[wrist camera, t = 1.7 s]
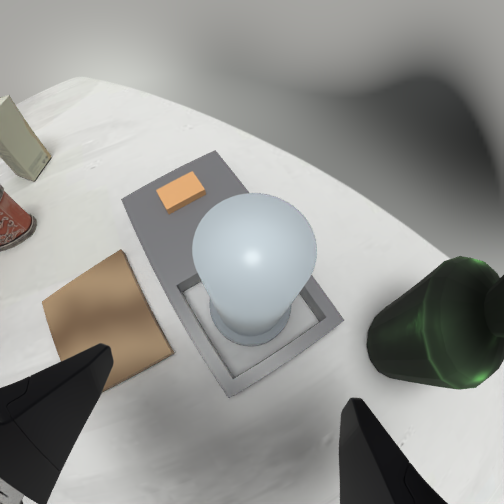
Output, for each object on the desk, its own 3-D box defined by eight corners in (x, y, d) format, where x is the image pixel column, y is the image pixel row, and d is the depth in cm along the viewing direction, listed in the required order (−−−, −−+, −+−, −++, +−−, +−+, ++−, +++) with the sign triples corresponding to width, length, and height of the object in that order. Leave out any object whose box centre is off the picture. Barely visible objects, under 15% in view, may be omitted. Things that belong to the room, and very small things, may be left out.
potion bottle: (390, 278, 23) (538, 149, 6) (445, 333, 21) (603, 265, 4) (337, 348, 20) (538, 279, 4) (400, 404, 18) (589, 407, 2)
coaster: (174, 353, 20) (171, 352, 19) (83, 401, 18) (78, 402, 17) (124, 252, 23) (121, 249, 22) (46, 303, 21) (41, 301, 20)
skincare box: (52, 157, 28) (11, 93, 17) (34, 183, 27) (-14, 122, 15) (31, 152, 29) (-6, 97, 18) (14, 176, 27) (-28, 122, 16)
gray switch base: (336, 324, 21) (348, 318, 19) (230, 395, 19) (228, 399, 16) (216, 163, 27) (214, 144, 25) (128, 210, 25) (118, 194, 22)
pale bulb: (302, 318, 21) (360, 267, 10) (238, 360, 20) (229, 356, 9) (261, 259, 23) (273, 162, 12) (198, 296, 22) (153, 224, 11)
